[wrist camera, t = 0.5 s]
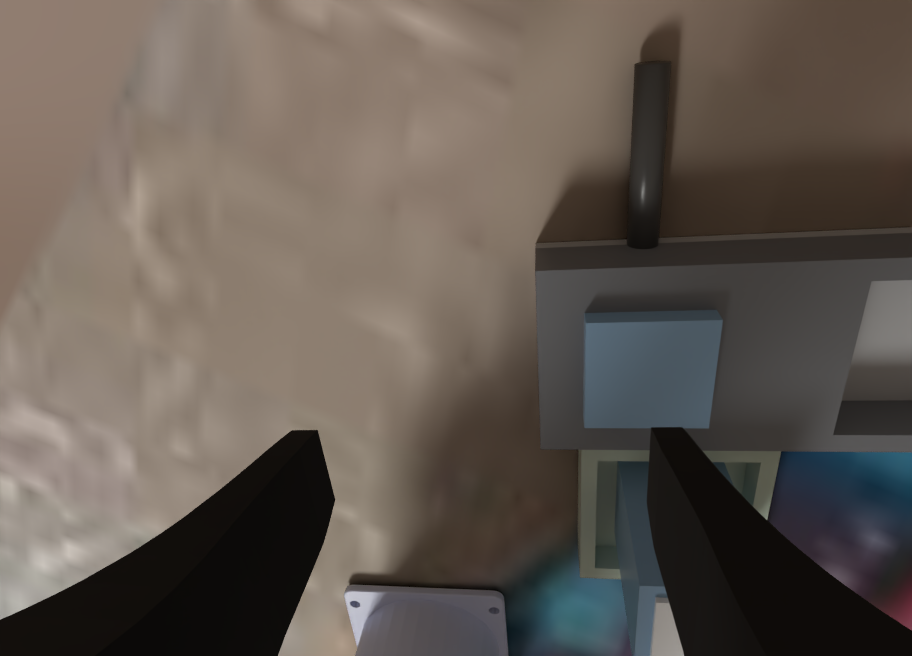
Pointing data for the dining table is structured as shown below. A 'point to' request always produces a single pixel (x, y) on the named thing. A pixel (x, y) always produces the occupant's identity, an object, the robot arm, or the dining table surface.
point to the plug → (643, 565)
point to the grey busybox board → (722, 327)
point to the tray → (598, 498)
